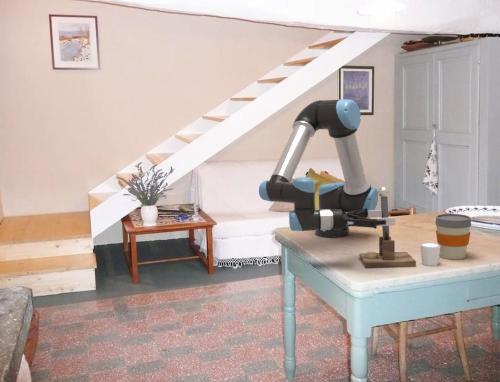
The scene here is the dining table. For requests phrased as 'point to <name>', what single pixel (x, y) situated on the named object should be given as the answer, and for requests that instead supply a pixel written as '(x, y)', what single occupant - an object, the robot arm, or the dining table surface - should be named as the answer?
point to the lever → (384, 210)
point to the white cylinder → (430, 254)
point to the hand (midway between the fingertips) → (390, 217)
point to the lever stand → (386, 256)
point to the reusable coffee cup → (453, 235)
